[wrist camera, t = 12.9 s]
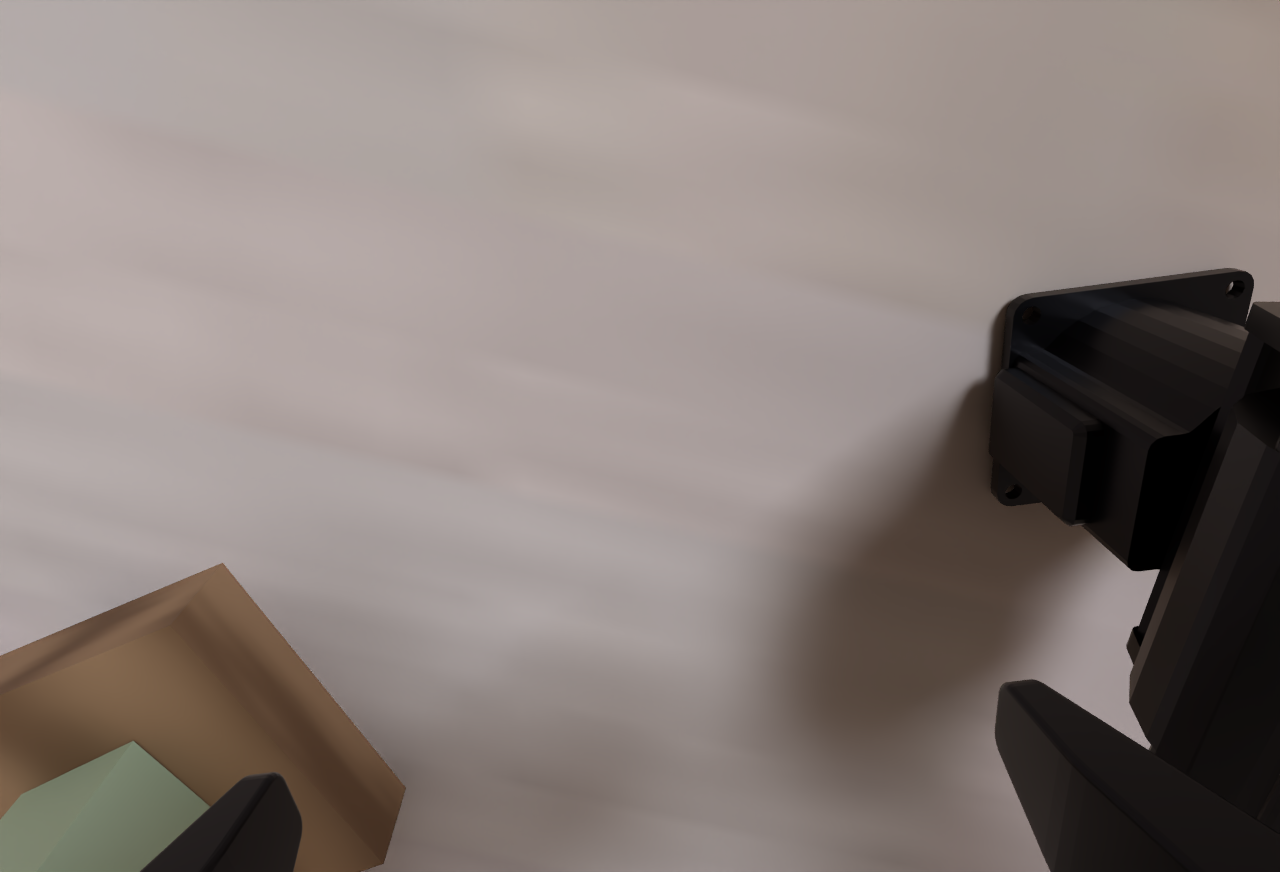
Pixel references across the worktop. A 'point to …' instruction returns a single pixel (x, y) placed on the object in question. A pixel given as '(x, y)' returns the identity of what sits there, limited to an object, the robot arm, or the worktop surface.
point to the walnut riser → (198, 714)
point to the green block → (98, 817)
